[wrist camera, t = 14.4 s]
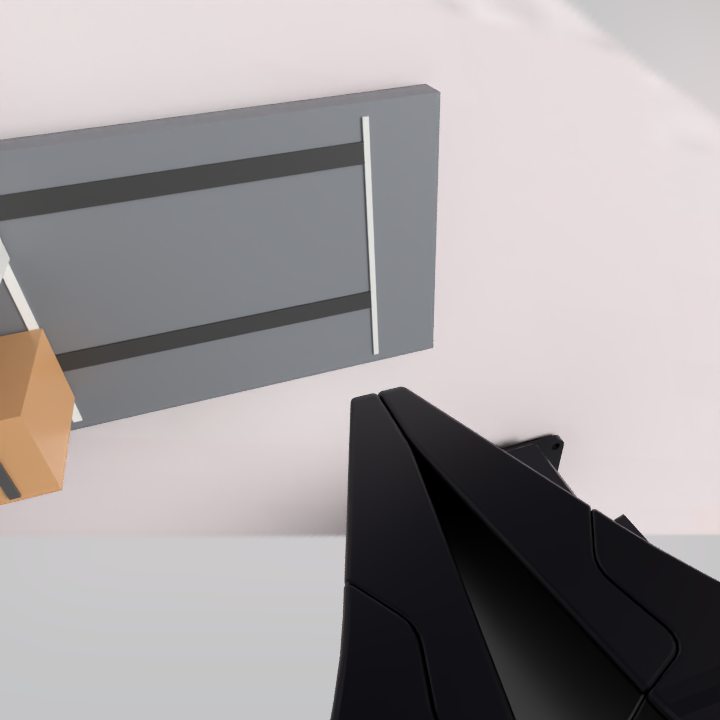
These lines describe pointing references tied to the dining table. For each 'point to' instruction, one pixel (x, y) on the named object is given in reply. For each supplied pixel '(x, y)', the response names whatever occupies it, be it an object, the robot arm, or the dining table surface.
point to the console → (223, 246)
